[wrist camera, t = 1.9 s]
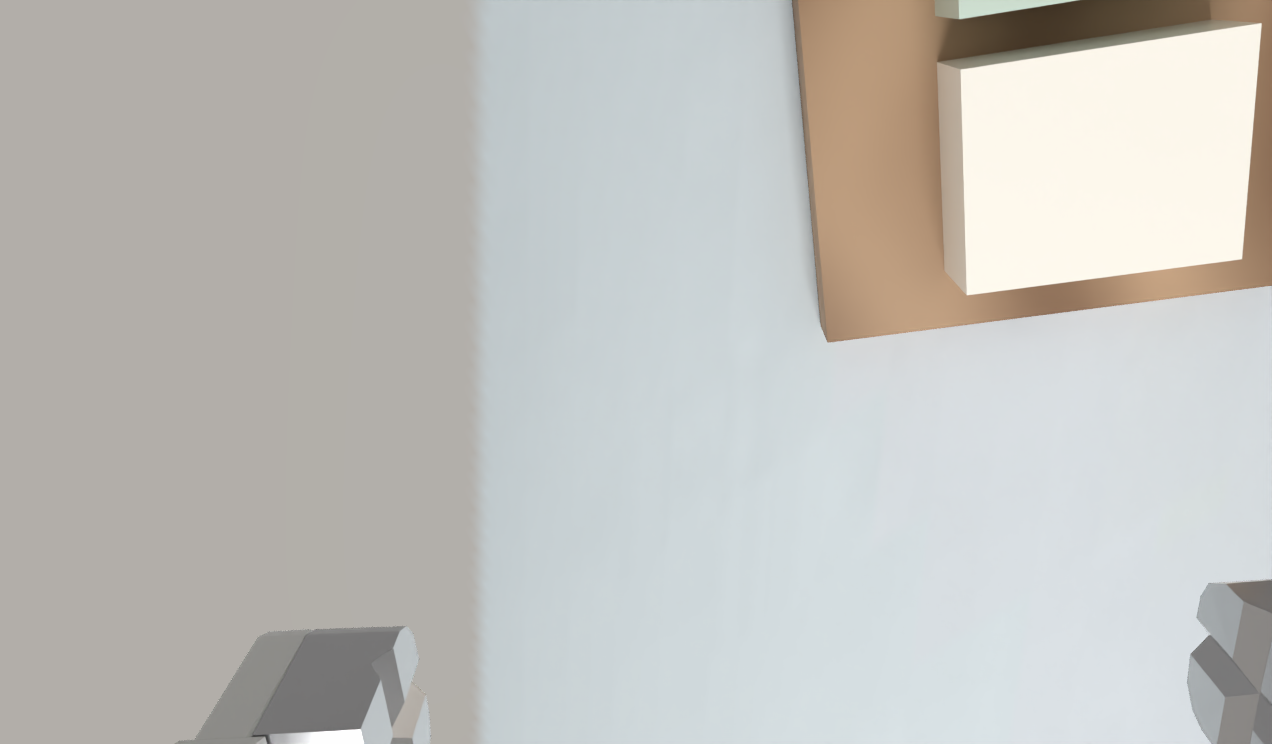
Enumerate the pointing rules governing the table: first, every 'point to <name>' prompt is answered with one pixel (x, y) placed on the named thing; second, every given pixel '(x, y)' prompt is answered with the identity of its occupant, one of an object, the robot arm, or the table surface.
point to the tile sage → (985, 7)
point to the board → (911, 169)
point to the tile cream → (1097, 155)
